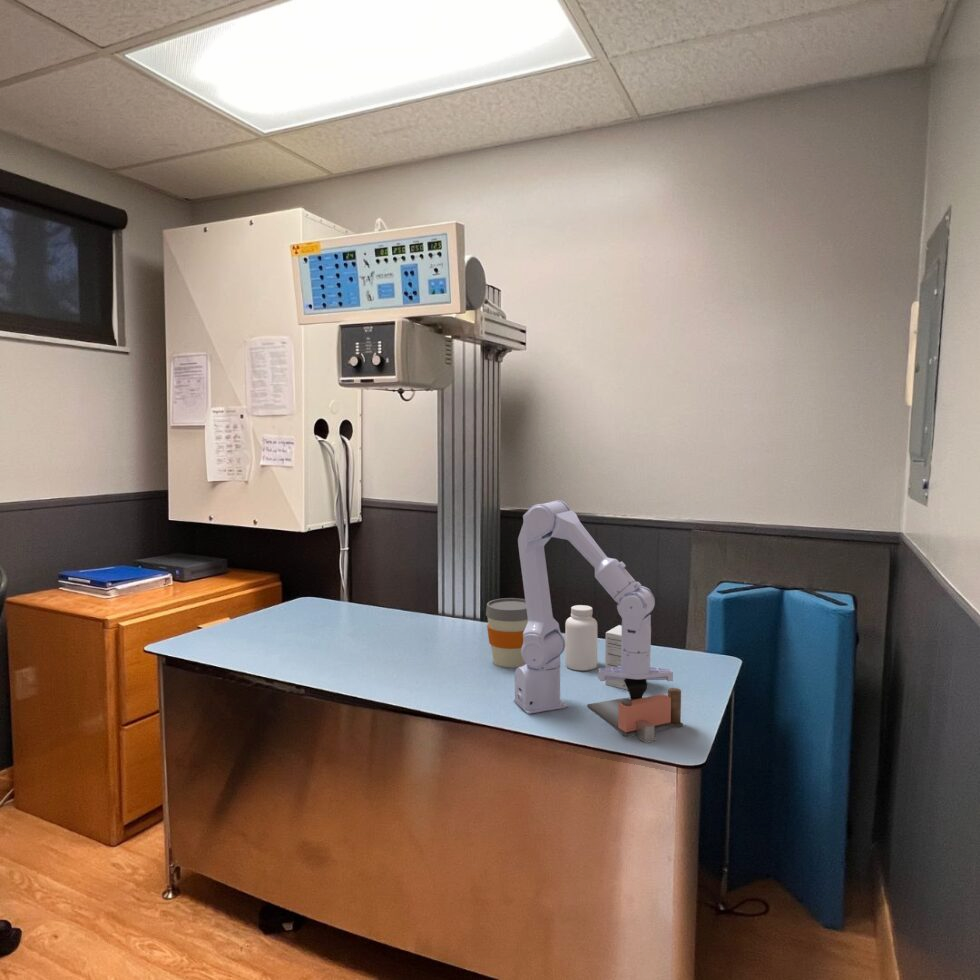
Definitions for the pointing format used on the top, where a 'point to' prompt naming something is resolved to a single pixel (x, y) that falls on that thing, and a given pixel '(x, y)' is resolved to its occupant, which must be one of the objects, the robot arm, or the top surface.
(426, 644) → the top surface
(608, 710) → the peg mounting fixture
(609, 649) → the supplement box
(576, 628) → the pill bottle
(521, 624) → the reusable coffee cup
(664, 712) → the rail
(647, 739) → the block
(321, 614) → the top surface
